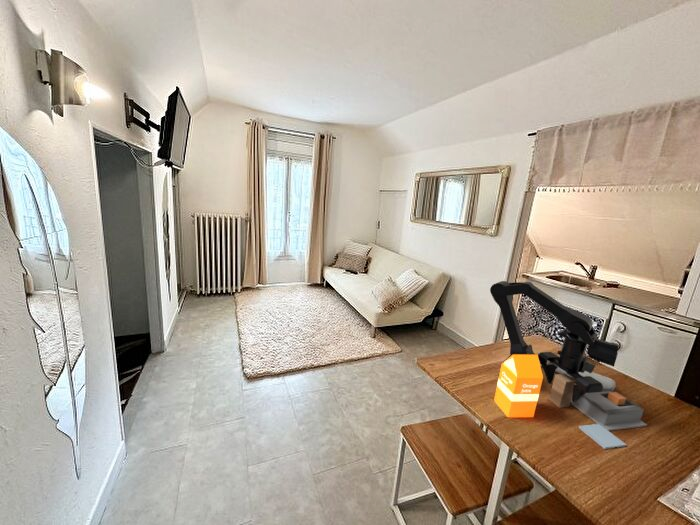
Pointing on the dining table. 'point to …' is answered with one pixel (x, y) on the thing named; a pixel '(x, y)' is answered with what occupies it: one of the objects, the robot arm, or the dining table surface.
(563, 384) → the light wood cuboid
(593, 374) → the tube
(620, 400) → the button
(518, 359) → the orange juice
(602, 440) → the mat
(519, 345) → the robot arm
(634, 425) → the grey hollow block
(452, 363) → the dining table surface
